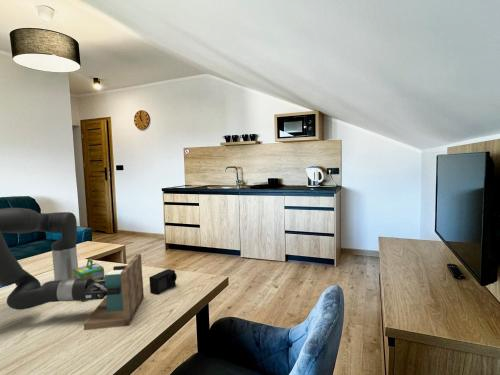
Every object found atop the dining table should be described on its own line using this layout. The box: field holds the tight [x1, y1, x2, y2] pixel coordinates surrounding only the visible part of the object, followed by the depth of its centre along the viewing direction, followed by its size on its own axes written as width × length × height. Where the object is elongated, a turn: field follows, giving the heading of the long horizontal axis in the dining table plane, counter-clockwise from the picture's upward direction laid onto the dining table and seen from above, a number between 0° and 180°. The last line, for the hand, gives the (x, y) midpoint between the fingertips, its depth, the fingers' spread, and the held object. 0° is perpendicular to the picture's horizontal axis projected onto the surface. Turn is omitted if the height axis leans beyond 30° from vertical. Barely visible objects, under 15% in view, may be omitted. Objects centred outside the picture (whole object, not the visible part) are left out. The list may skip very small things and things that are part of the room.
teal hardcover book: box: [104, 270, 123, 312], centre depth 102 cm, size 4×7×13 cm, turn 97°
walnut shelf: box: [83, 253, 145, 330], centre depth 103 cm, size 20×14×18 cm
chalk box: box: [73, 258, 105, 303], centre depth 118 cm, size 9×9×15 cm
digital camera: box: [148, 268, 178, 296], centre depth 121 cm, size 10×5×7 cm, turn 149°
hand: (124, 285), depth 102 cm, fingers open, 8 cm apart
